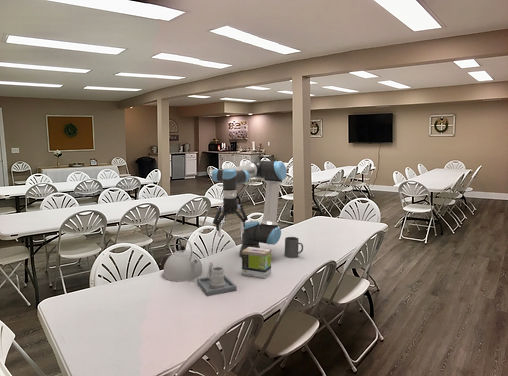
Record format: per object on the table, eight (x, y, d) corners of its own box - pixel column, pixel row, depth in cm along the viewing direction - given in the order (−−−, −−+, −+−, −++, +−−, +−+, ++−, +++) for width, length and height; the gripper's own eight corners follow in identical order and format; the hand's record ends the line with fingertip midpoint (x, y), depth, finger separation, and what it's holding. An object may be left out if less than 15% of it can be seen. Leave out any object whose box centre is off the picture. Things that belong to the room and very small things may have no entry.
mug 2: (282, 256, 258) (282, 238, 257) (289, 252, 265) (290, 236, 264) (299, 260, 250) (299, 242, 248) (306, 256, 257) (306, 239, 255)
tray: (197, 283, 211) (197, 279, 211) (224, 278, 218) (224, 274, 218) (207, 295, 195) (207, 291, 195) (236, 290, 202) (236, 286, 202)
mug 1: (216, 290, 199) (216, 268, 198) (203, 283, 208) (202, 262, 206) (227, 286, 205) (227, 265, 203) (214, 280, 213) (214, 259, 211)
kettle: (212, 275, 223) (212, 238, 220) (180, 286, 208) (179, 246, 204) (188, 264, 241) (187, 229, 238) (156, 274, 225) (154, 236, 222)
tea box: (271, 273, 227) (271, 249, 225) (264, 279, 218) (265, 254, 216) (248, 269, 233) (248, 245, 231) (241, 274, 224) (241, 250, 222)
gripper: (210, 200, 201) (211, 239, 205) (253, 196, 212) (253, 233, 215) (206, 198, 208) (207, 235, 212) (247, 193, 218) (248, 229, 222)
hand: (230, 234), depth 213 cm, fingers open, 13 cm apart
